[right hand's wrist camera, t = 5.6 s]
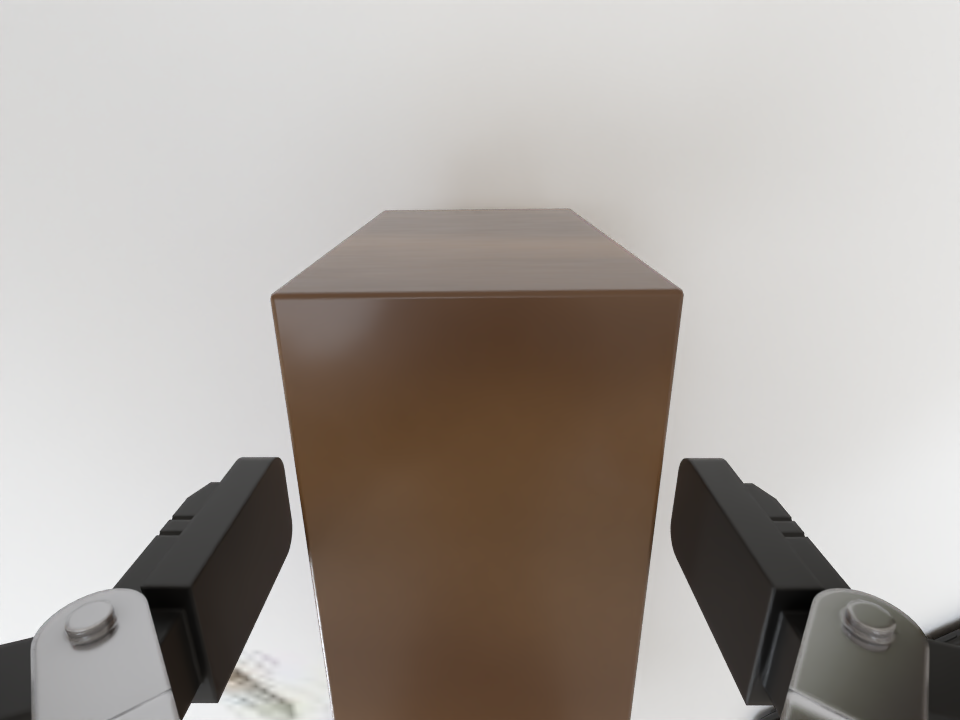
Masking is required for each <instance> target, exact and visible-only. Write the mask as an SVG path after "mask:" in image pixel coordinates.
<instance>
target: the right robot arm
mask: <svg viewBox="0 0 960 720" xmlns="http://www.w3.org/2000/svg"><path fill="white" fill-rule="evenodd" d="M172 517H173V518H172V520H169V521H168V522H167V523H166V525H165V526H164V527H163V528H162V529H161V531H160V535H157V536H156V537H155V538H154V539H153V540H152V542H151V543H150V544H149V545H148V546H147V548H146V549H145V550H144V551H143V552H142V554H141V555H140V556H139V557H138V559H137V560H136V561H135V562H134V563H133V565H132V566H131V567H130V568H129V569H128V571H127V572H126V573H125V574H124V575H123V577H122V578H121V579H120V580H119V582H118V583H117V584H116V585H115V586H114V588H113V589H108V590H103V591H99V592H96V593H93V594H90V595H87V596H85V597H82V598H80V599H78V600H76V601H74V602H72V603H70V604H68V605H67V606H65V607H64V608H62V609H60V610H59V611H58V612H56V613H55V614H54V615H52V616H51V617H50V618H49V619H48V620H47V621H46V622H45V623H44V624H43V625H42V626H41V627H40V629H39V630H38V631H37V633H36V634H35V636H34V637H32V638H28V639H24V640H20V641H15V642H11V643H7V644H3V645H0V720H182V719H183V717H184V716H185V714H186V712H187V710H188V708H189V706H190V704H191V703H218V702H219V700H220V698H221V695H222V693H223V691H224V689H225V687H226V685H227V683H228V680H229V678H230V676H231V674H232V672H233V670H234V668H235V666H236V663H237V661H238V659H239V657H240V655H241V653H242V651H243V648H244V646H245V644H246V642H247V640H248V638H249V636H250V634H251V631H252V629H253V627H254V625H255V623H256V621H257V619H258V616H259V614H260V612H261V610H262V608H263V606H264V604H265V601H266V599H267V597H268V595H269V593H270V591H271V589H272V587H273V584H274V582H275V580H276V578H277V576H278V574H279V572H280V569H281V567H282V565H283V563H284V561H285V559H286V557H287V554H288V552H289V549H290V544H291V539H292V518H291V511H290V504H289V498H288V491H287V484H286V477H285V470H284V465H283V462H282V460H281V459H280V458H278V457H241V458H239V459H238V460H237V461H236V462H235V463H234V465H233V466H232V467H231V469H230V470H229V471H228V473H227V474H226V475H225V477H224V478H223V479H222V480H221V482H211V483H209V484H208V485H206V486H205V487H203V488H202V489H200V490H199V491H197V492H196V493H194V494H193V495H191V496H190V497H188V498H187V499H186V500H185V502H184V503H183V504H182V505H181V506H180V508H179V509H178V510H177V511H176V512H175V514H174V515H173V516H172ZM671 541H672V546H673V550H674V553H675V556H676V558H677V560H678V562H679V564H680V566H681V569H682V571H683V573H684V575H685V577H686V579H687V581H688V583H689V585H690V588H691V590H692V592H693V594H694V596H695V598H696V600H697V602H698V604H699V606H700V609H701V611H702V613H703V615H704V617H705V619H706V621H707V623H708V625H709V628H710V630H711V632H712V634H713V636H714V638H715V640H716V642H717V644H718V647H719V649H720V651H721V653H722V655H723V657H724V659H725V661H726V663H727V666H728V668H729V670H730V672H731V674H732V676H733V678H734V680H735V682H736V685H737V687H738V689H739V691H740V693H741V695H742V697H743V699H744V701H745V703H746V705H774V707H775V709H776V711H777V713H778V715H779V717H780V720H960V646H958V645H953V644H949V643H945V642H941V641H936V640H932V639H929V638H926V636H925V634H924V633H923V631H922V630H921V629H920V627H919V626H918V625H917V624H916V623H915V622H914V621H913V620H912V619H911V618H910V617H909V616H908V615H906V614H905V613H904V612H902V611H901V610H900V609H898V608H896V607H895V606H893V605H892V604H890V603H888V602H886V601H884V600H882V599H880V598H878V597H875V596H873V595H870V594H867V593H864V592H861V591H857V590H852V589H851V588H850V587H849V586H848V585H847V584H846V582H845V581H844V580H843V579H842V578H841V576H840V575H839V574H838V573H837V572H836V570H835V569H834V568H833V567H832V566H831V564H830V563H829V562H828V561H827V560H826V558H825V557H824V556H823V555H822V554H821V552H820V551H819V550H818V549H817V548H816V546H815V545H814V544H813V543H812V542H811V540H810V539H809V538H808V537H805V536H804V532H803V531H802V530H801V528H800V527H799V526H798V525H797V524H796V522H795V521H792V520H791V516H790V515H789V514H788V513H787V512H786V510H785V509H784V508H783V507H782V506H781V504H780V503H779V502H778V501H777V500H776V499H775V498H774V497H772V496H771V495H769V494H768V493H766V492H765V491H763V490H762V489H760V488H759V487H757V486H756V485H754V484H753V483H743V482H742V481H741V480H740V478H739V477H738V476H737V474H736V473H735V472H734V470H733V469H732V468H731V467H730V465H729V464H728V463H727V462H726V461H725V460H724V459H722V458H685V459H683V460H682V461H681V463H680V466H679V471H678V478H677V485H676V491H675V498H674V505H673V512H672V518H671Z"/></svg>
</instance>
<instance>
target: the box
mask: <svg viewBox="0 0 960 720" xmlns="http://www.w3.org/2000/svg"><path fill="white" fill-rule="evenodd" d="M683 296H684V295H683V291H682V290H681V289H680V288H678V287H677V286H676V285H674V284H673V283H672V282H670V281H669V280H667V279H666V278H665V277H663V276H662V275H660V274H659V273H658V272H656V271H655V270H654V269H652V268H651V267H649V266H648V265H647V264H645V263H644V262H643V261H641V260H640V259H638V258H637V257H636V256H634V255H633V254H631V253H630V252H629V251H627V250H626V249H625V248H623V247H622V246H620V245H619V244H618V243H616V242H615V241H614V240H612V239H611V238H609V237H608V236H607V235H605V234H604V233H602V232H601V231H600V230H598V229H597V228H596V227H594V226H593V225H591V224H590V223H589V222H587V221H586V220H584V219H583V218H582V217H580V216H579V215H578V214H576V213H575V212H573V211H572V210H571V209H490V210H387V211H383V212H382V213H381V214H379V215H378V216H377V217H375V218H374V219H373V220H371V221H370V222H369V223H367V224H366V225H365V226H363V227H362V228H360V229H359V230H358V231H356V232H355V233H354V234H352V235H351V236H350V237H348V238H347V239H346V240H344V241H343V242H342V243H340V244H339V245H338V246H336V247H335V248H333V249H332V250H331V251H329V252H328V253H327V254H325V255H324V256H323V257H321V258H320V259H319V260H317V261H316V262H315V263H313V264H312V265H311V266H309V267H308V268H307V269H305V270H304V271H302V272H301V273H300V274H298V275H297V276H296V277H294V278H293V279H292V280H290V281H289V282H288V283H286V284H285V285H284V286H282V287H281V288H280V289H278V290H277V291H276V292H274V293H273V294H272V295H271V306H272V313H273V319H274V326H275V333H276V339H277V346H278V353H279V360H280V366H281V373H282V380H283V387H284V393H285V400H286V407H287V414H288V420H289V427H290V434H291V441H292V447H293V454H294V461H295V467H296V474H297V481H298V488H299V494H300V501H301V508H302V515H303V521H304V528H305V535H306V542H307V548H308V555H309V562H310V568H311V575H312V582H313V589H314V595H315V602H316V609H317V616H318V622H319V629H320V636H321V643H322V649H323V656H324V663H325V669H326V676H327V683H328V690H329V696H330V703H331V710H332V717H333V720H630V717H631V709H632V701H633V693H634V685H635V678H636V670H637V662H638V654H639V646H640V638H641V630H642V622H643V614H644V606H645V598H646V590H647V582H648V574H649V566H650V558H651V550H652V542H653V534H654V526H655V518H656V510H657V502H658V494H659V487H660V479H661V471H662V463H663V455H664V447H665V439H666V431H667V423H668V415H669V407H670V399H671V391H672V383H673V375H674V367H675V359H676V351H677V343H678V335H679V327H680V319H681V311H682V304H683Z"/></svg>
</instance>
